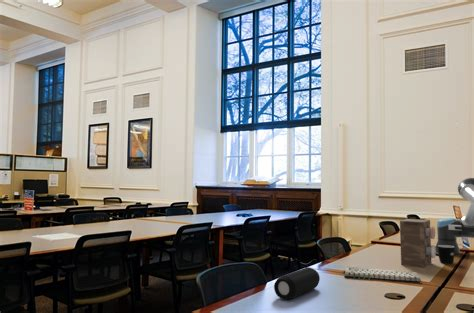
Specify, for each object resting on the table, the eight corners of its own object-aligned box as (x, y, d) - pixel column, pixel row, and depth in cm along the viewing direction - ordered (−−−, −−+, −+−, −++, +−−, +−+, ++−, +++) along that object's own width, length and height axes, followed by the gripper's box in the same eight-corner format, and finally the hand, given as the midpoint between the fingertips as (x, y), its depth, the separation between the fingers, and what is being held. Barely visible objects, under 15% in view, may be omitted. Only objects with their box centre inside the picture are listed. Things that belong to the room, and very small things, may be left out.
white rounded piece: (414, 254, 236) (414, 242, 237) (436, 257, 229) (435, 244, 229) (411, 256, 231) (410, 244, 231) (433, 258, 223) (432, 246, 224)
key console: (408, 260, 242) (407, 218, 244) (431, 263, 234) (430, 220, 236) (401, 265, 230) (399, 220, 231) (424, 268, 222) (423, 222, 223)
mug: (452, 265, 228) (451, 248, 229) (436, 263, 235) (435, 246, 235) (458, 262, 237) (458, 245, 237) (443, 260, 243) (442, 243, 244)
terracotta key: (414, 236, 237) (413, 224, 237) (435, 238, 229) (435, 225, 230) (410, 237, 231) (410, 225, 232) (432, 239, 224) (432, 227, 224)
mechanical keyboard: (417, 276, 206) (417, 269, 206) (423, 285, 188) (422, 278, 188) (343, 271, 217) (343, 265, 217) (342, 280, 199) (342, 273, 199)
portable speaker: (303, 286, 186) (302, 265, 186) (321, 289, 179) (321, 268, 180) (272, 298, 166) (272, 275, 167) (292, 303, 160) (291, 278, 160)
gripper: (497, 239, 202) (446, 235, 217) (499, 236, 212) (451, 232, 227) (496, 224, 203) (446, 221, 218) (499, 222, 213) (450, 219, 228)
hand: (448, 227), depth 222 cm, fingers closed
